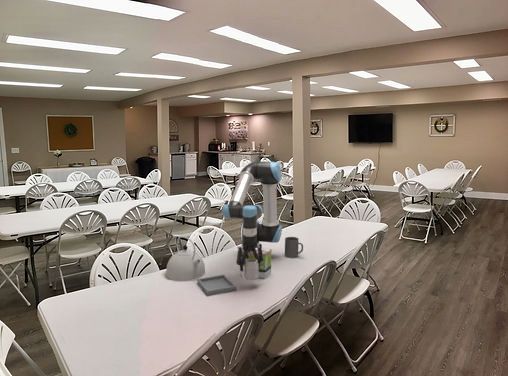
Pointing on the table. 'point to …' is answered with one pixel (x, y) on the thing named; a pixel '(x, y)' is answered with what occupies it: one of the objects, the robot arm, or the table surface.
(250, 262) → the mug
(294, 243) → the mug
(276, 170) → the robot arm
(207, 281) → the tray
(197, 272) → the kettle
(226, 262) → the table surface
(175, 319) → the table surface
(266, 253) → the tea box
